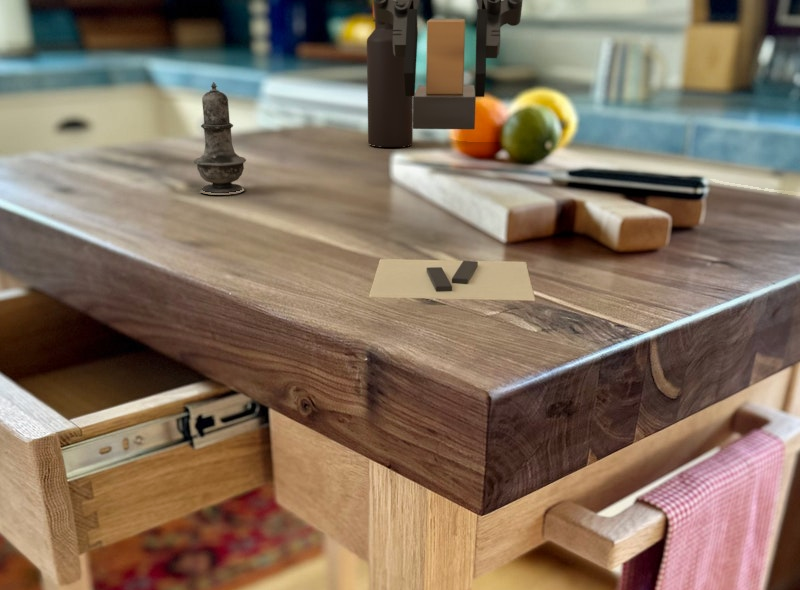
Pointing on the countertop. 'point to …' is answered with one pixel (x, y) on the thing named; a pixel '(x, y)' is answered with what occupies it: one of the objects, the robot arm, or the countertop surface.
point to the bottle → (387, 92)
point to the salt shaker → (218, 146)
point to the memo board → (484, 284)
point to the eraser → (444, 80)
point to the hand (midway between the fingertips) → (444, 84)
